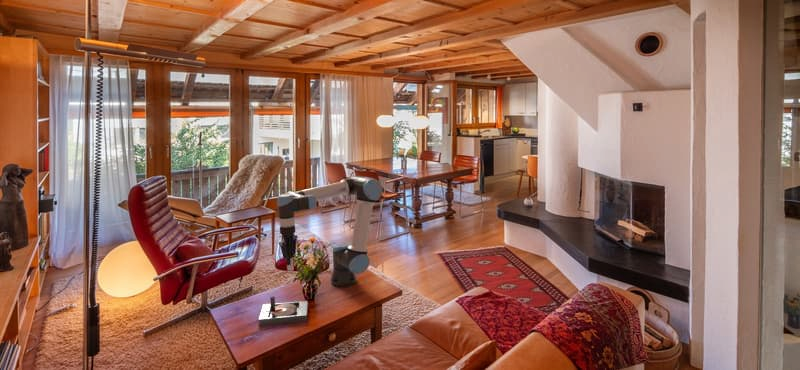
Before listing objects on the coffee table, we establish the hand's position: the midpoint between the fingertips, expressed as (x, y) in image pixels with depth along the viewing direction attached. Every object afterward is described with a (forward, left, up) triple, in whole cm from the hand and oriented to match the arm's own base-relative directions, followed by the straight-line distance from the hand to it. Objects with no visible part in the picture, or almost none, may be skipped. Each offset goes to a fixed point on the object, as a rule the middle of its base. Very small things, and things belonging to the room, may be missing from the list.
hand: (290, 270), depth 211 cm
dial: (+3, +9, -19) cm, 21 cm away
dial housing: (+3, +9, -20) cm, 22 cm away
